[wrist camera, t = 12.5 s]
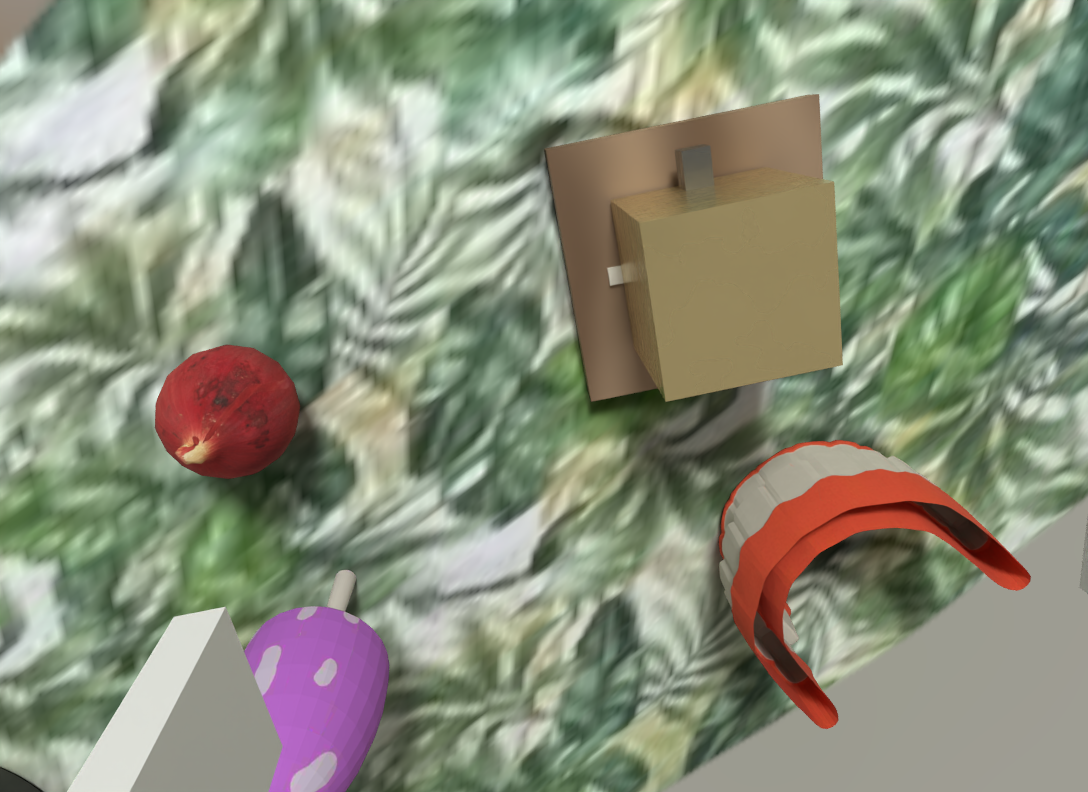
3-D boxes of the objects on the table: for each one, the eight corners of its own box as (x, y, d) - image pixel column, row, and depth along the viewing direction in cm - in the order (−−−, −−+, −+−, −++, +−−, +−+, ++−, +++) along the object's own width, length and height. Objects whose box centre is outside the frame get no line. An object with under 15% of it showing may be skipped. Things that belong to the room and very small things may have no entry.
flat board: (588, 392, 37) (605, 444, 31) (544, 148, 33) (555, 157, 27) (820, 346, 37) (880, 389, 31) (807, 94, 33) (875, 91, 27)
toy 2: (831, 370, 38) (913, 435, 30) (939, 492, 41) (1038, 577, 33) (651, 525, 40) (686, 618, 33) (766, 627, 44) (822, 734, 36)
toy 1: (417, 538, 40) (375, 771, 26) (395, 636, 42) (346, 898, 28) (291, 516, 39) (177, 745, 25) (276, 617, 41) (164, 880, 27)
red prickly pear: (225, 303, 34) (151, 356, 27) (336, 364, 36) (295, 431, 28) (174, 400, 36) (91, 476, 28) (283, 455, 37) (230, 542, 30)
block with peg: (604, 162, 32) (632, 176, 25) (762, 129, 32) (831, 134, 25) (638, 378, 36) (671, 438, 29) (780, 348, 35) (844, 402, 29)
